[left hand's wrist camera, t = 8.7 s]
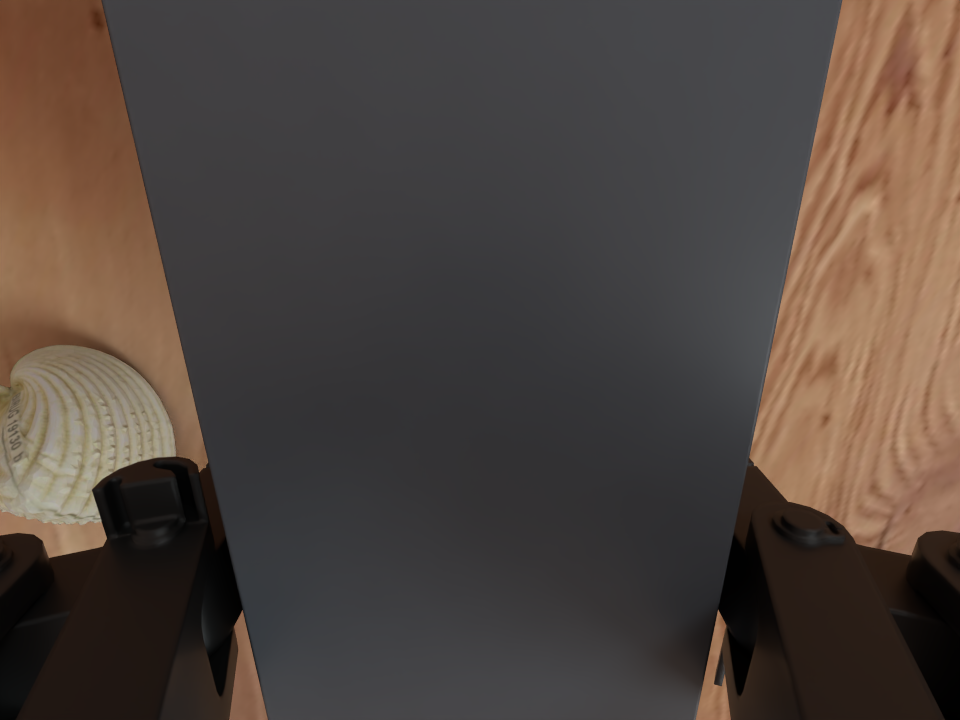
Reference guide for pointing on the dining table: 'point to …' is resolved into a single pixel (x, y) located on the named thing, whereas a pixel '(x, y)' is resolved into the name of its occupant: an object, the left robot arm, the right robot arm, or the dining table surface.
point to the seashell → (73, 431)
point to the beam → (476, 327)
